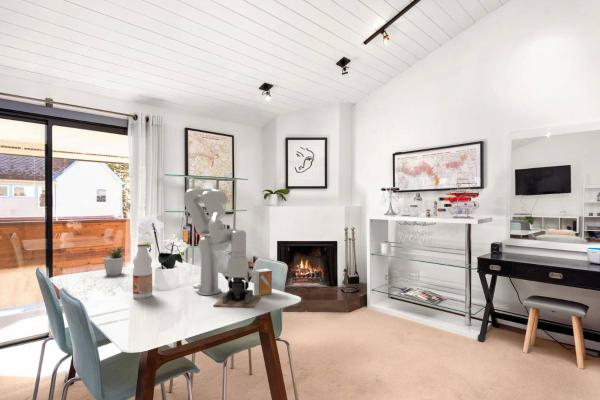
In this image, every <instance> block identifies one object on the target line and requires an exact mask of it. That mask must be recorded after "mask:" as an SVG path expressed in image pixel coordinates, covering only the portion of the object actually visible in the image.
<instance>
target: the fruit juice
mask: <svg viewBox="0 0 600 400" xmlns="http://www.w3.org/2000/svg"><path fill="white" fill-rule="evenodd" d="M148 246H149V245H148V243H138V244H137V251H136V254H135V256H134V258H133V261H132V264H133V268H132V298H134V299H146V298H150V297H151V296H152V295H153V267H152V262H153V259H152V258H153V257H152V256H151V255H150V254H149V253H150V252H148V251H149V250H148Z"/></svg>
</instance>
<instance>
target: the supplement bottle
mask: <svg viewBox="0 0 600 400" xmlns="http://www.w3.org/2000/svg"><path fill="white" fill-rule="evenodd" d="M245 282H246V281H244V279H243V278H232V283H231V289H230V290H231V297H232V300H233V301H242V300H244V299H245Z"/></svg>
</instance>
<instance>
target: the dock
mask: <svg viewBox="0 0 600 400" xmlns="http://www.w3.org/2000/svg"><path fill="white" fill-rule="evenodd" d="M261 297H262V295H256V294H254V289H247V290H245V299H244V300H242V301H233V300H232V297H231V289H230V290H229V289H228V290H227V291H226V292H225V294H223V295H222V296H221V297H220V298H219V299H218V300H217V301H216V302H215V303H214V304H213V305H212V306H213V307H214V308H247V309H248V308H249V309H251V308H252V309H254V308H256V306H257V304H258V303H259V301H260V300H261Z"/></svg>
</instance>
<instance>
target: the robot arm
mask: <svg viewBox="0 0 600 400" xmlns="http://www.w3.org/2000/svg"><path fill="white" fill-rule="evenodd" d="M183 202H184V206H185V208H186V210H187V211H188V214H189V215H190V217H191V220H192V223H193V226H194V228H195V231H196V233H197V235H199V236H202V237H200V239H199V241H198V249H199V255H200V284H193V289H195V290H197V295H198V294H199V296H200V295H201V296H213V295H218V294H220V293H221V292H222V289H221V288H220V287H219V258H218V256H217V255H216V253H217V252H223V251H224V252H225V251H227V250H228V249H229V247H230V251H229V252H228V254H227V255H228V256H230V257H229V258H228V264H227V270H225V271H223V272H222V276H223V277H224V279H225V280H226V281H227V286H228V291H229V290H231V283H232V282H233V278H244V279H243V280H245V281H244V282H245V290H249V287H250V285H249V283H250V281H251V280H252V278H254V271H252V270H251V269H250V268H249V259H248V257H247V232H246V231H245V230H241V229H237V228H225V225H224V223H223V221H222V218H224V216H225V215H226V210H225V208H224V206H225V205H226V204H227V202H228V196H227V193H226V192H225V191H223V190H219V189H215V188H197V187H195V188H191V189H188V190H186V191H185V193H184V196H183ZM201 204H203V205H204V207H205V208H204V207H203V206H201ZM206 211H207V212H206ZM207 213H208V214H207ZM208 215H209V216H208ZM249 274H250V275H249Z"/></svg>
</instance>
